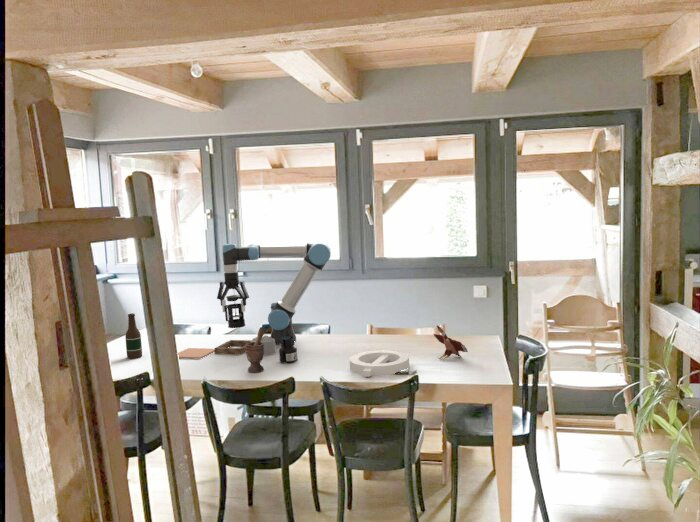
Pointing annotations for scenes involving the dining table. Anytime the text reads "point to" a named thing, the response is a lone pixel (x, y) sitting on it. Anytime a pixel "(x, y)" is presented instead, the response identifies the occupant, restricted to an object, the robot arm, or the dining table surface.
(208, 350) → the terracotta pad
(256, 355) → the mortar and pestle
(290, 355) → the ink bottle
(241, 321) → the french press
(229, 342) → the brown wooden tray
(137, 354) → the beer bottle
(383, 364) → the white circle with bar
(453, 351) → the decorative bird
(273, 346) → the lumpy-topped squat cylinder
